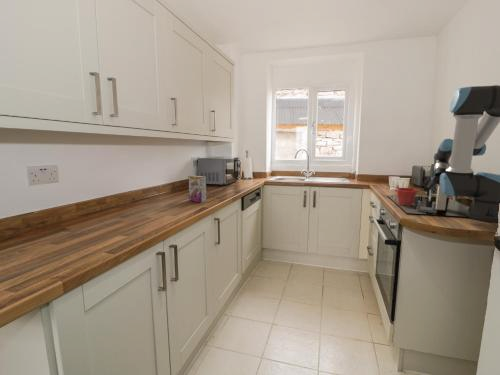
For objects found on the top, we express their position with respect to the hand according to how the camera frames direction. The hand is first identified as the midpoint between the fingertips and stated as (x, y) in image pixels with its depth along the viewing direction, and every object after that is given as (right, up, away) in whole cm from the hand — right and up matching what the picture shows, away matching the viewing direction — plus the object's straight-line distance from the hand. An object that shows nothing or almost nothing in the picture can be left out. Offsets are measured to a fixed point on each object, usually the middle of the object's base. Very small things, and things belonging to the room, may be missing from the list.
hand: (441, 201), depth 154 cm
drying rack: (-11, -5, -2) cm, 12 cm away
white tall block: (+1, -5, +3) cm, 6 cm away
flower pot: (-12, -3, +14) cm, 19 cm away
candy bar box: (-144, -1, +20) cm, 146 cm away
